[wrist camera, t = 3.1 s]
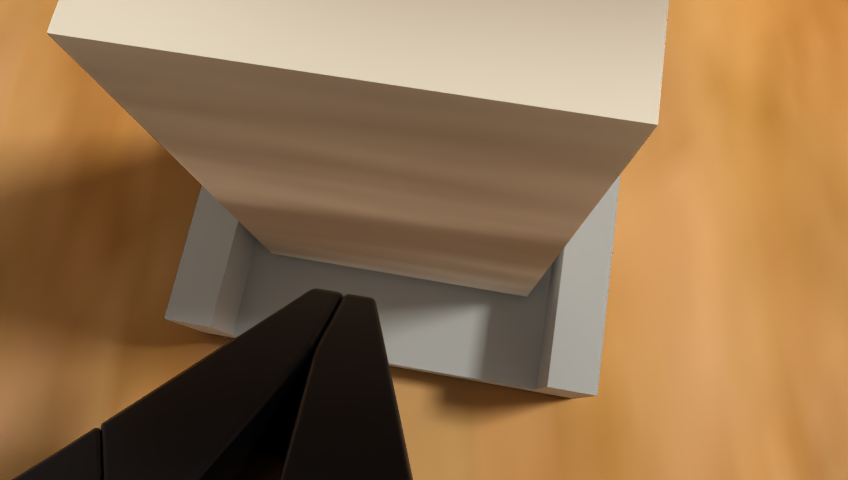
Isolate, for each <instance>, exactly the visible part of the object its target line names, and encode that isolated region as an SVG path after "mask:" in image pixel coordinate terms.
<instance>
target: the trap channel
mask: <svg viewBox="0 0 848 480" xmlns="http://www.w3.org/2000/svg"><path fill="white" fill-rule="evenodd" d="M619 182H620V175H619V176H618V178H617V179H616V180H615V182H614V183H613V184H612V186H611V187H610V188H609V190H608V191H607V192H606V193H605V195H604V196H603V197H602V199H601V200H600V201H599V203H598V204H597V205H596V207H595V208H594V209H593V211H592V212H591V213H590V214H589V216H588V217H587V218H586V220H585V221H584V222H583V224H582V225H581V226H580V228H579V229H578V230H577V232H576V233H575V234H574V236H573V237H572V238H571V239H570V241H569V242H568V243H567V245H566V246H565V247H564V249H563V250H562V251H561V253H560V254H559V255H558V257H557V258H556V259H555V260H554V262H553V263H552V264H551V266H550V267H549V268H548V270H547V271H546V272H545V274H544V275H543V276H542V278H541V279H540V280H539V281H538V283H537V284H536V285H535V287H534V288H533V289H532V291H531V292H530V293H529V295H528V296H527V297H525V296H519V295H513V294H507V293H501V292H495V291H489V290H484V289H478V288H472V287H466V286H460V285H454V284H448V283H442V282H436V281H430V280H425V279H419V278H413V277H407V276H401V275H395V274H389V273H383V272H377V271H371V270H365V269H360V268H354V267H348V266H342V265H336V264H330V263H324V262H318V261H312V260H306V259H301V258H295V257H289V256H283V255H277V254H272V253H271V252H270V251H269V250H268V249H267V248H266V247H264V246H263V245H262V244H261V243H260V242H259V241H258V240H257V239H256V238H255V237H254V236H253V235H252V234H251V233H250V232H249V231H248V230H247V229H246V228H245V227H244V226H243V225H242V224H241V223H240V222H239V221H238V220H237V219H236V218H235V217H234V216H233V215H232V214H231V213H230V212H229V211H228V210H227V209H226V208H225V207H224V206H223V205H222V204H221V203H220V202H219V201H218V200H217V199H216V198H215V197H213V196H212V195H211V194H210V193H209V192H208V191H207V190H206V189H205V188H204V187H203V186H201V189H200V193H199V197H198V200H197V204H196V207H195V211H194V214H193V218H192V221H191V225H190V228H189V232H188V235H187V239H186V243H185V246H184V250H183V253H182V257H181V260H180V264H179V267H178V271H177V274H176V278H175V282H174V285H173V289H172V292H171V296H170V299H169V303H168V306H167V310H166V313H165V317H164V319H166V320H169V321H172V322H175V323H178V324H181V325H183V326H186V327H189V328H192V329H195V330H198V331H200V332H203V333H209V334H215V335H220V336H226V337H231V338H236V337H237V336H239V335H241V334H242V333H244V332H245V331H247V330H248V329H250V328H251V327H253V326H255V325H256V324H258V323H259V322H261V321H262V320H264V319H265V318H267V317H269V316H270V315H272V314H273V313H275V312H276V311H278V310H279V309H281V308H283V307H284V306H286V305H287V304H289V303H290V302H292V301H293V300H295V299H297V298H298V297H300V296H301V295H303V294H304V293H306V292H307V291H309V290H311V289H314V288H319V289H325V290H331V291H336V292H340V293H341V294H342V295H343V297H344V296H345V295H347V294H354V295H360V296H366V297H371V298H373V299H375V301H376V304H377V309H378V314H379V319H380V324H381V329H382V333H383V338H384V343H385V348H386V353H387V357H388V362H389V366H394V367H399V368H405V369H410V370H416V371H422V372H427V373H433V374H438V375H444V376H450V377H455V378H461V379H466V380H472V381H478V382H483V383H489V384H494V385H500V386H506V387H511V388H517V389H522V390H528V391H534V392H539V393H545V394H550V395H556V396H562V397H567V398H573V399H575V398H583V397H592V396H597V395H598V385H599V376H600V366H601V356H602V347H603V337H604V327H605V318H606V308H607V298H608V289H609V279H610V269H611V260H612V250H613V240H614V231H615V221H616V211H617V202H618V192H619Z"/></svg>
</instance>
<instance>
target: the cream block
mask: <svg viewBox="0 0 848 480" xmlns="http://www.w3.org/2000/svg"><path fill="white" fill-rule="evenodd" d="M668 5H669V0H59V1H58V4H57V6H56V9H55V12H54V14H53V17H52V20H51V22H50V25H49V28H48V31H47V34H48V35H49V36H50V37H51V38H52V39H53V40H54V41H55V42H56V43H57V44H58V45H59V46H60V47H62V48H63V49H64V50H65V51H66V52H67V53H68V54H69V55H70V56H71V57H72V58H73V59H74V60H75V61H76V62H77V63H78V64H79V65H80V66H81V67H82V68H83V69H84V70H85V71H86V72H87V73H88V74H89V75H90V76H91V77H92V78H93V79H94V80H95V81H96V82H97V83H98V84H99V85H100V86H101V87H102V88H103V89H104V90H105V91H106V92H107V93H108V94H109V95H110V96H111V97H113V98H114V99H115V100H116V101H117V102H118V103H119V104H120V105H121V106H122V107H123V108H124V109H125V110H126V111H127V112H128V113H129V114H130V115H131V116H132V117H133V118H134V119H135V120H136V121H137V122H138V123H139V124H140V125H141V126H142V127H143V128H144V129H145V130H146V131H147V132H148V133H149V134H150V135H151V136H152V137H153V138H154V139H155V140H156V141H157V142H158V143H159V144H160V145H161V146H162V147H164V148H165V149H166V150H167V151H168V152H169V153H170V154H171V155H172V156H173V157H174V158H175V159H176V160H177V161H178V162H179V163H180V164H181V165H182V166H183V167H184V168H185V169H186V170H187V171H188V172H189V173H190V174H191V175H192V176H193V177H194V178H195V179H196V180H197V181H198V182H199V183H200V184H201V185H202V186H203V187H204V188H205V189H206V190H207V191H208V192H209V193H210V194H211V195H212V196H213V197H215V198H216V199H217V200H218V201H219V202H220V203H221V204H222V205H223V206H224V207H225V208H226V209H227V210H228V211H229V212H230V213H231V214H232V215H233V216H234V217H235V218H236V219H237V220H238V221H239V222H240V223H241V224H242V225H243V226H244V227H245V228H246V229H247V230H248V231H249V232H250V233H251V234H252V235H253V236H254V237H255V238H256V239H257V240H258V241H259V242H260V243H261V244H262V245H263V246H264V247H266V248H267V249H268V250H269V251H270V252H271V253H272V254H277V255H283V256H289V257H295V258H301V259H306V260H312V261H318V262H324V263H330V264H336V265H342V266H348V267H354V268H360V269H365V270H371V271H377V272H383V273H389V274H395V275H401V276H407V277H413V278H419V279H425V280H430V281H436V282H442V283H448V284H454V285H460V286H466V287H472V288H478V289H484V290H489V291H495V292H501V293H507V294H513V295H519V296H525V297H527V296H528V295H529V293H530V292H531V291H532V289H533V288H534V287H535V285H536V284H537V283H538V281H539V280H540V279H541V278H542V276H543V275H544V274H545V272H546V271H547V270H548V268H549V267H550V266H551V264H552V263H553V262H554V260H555V259H556V258H557V257H558V255H559V254H560V253H561V251H562V250H563V249H564V247H565V246H566V245H567V243H568V242H569V241H570V239H571V238H572V237H573V236H574V234H575V233H576V232H577V230H578V229H579V228H580V226H581V225H582V224H583V222H584V221H585V220H586V218H587V217H588V216H589V214H590V213H591V212H592V211H593V209H594V208H595V207H596V205H597V204H598V203H599V201H600V200H601V199H602V197H603V196H604V195H605V193H606V192H607V191H608V190H609V188H610V187H611V186H612V184H613V183H614V182H615V180H616V179H617V178H618V176H619V175H620V174H621V172H622V171H623V170H624V169H625V167H626V166H627V165H628V163H629V162H630V161H631V159H632V158H633V157H634V155H635V154H636V153H637V151H638V150H639V149H640V148H641V146H642V145H643V144H644V142H645V141H646V140H647V138H648V137H649V136H650V134H651V133H652V132H653V130H654V129H655V128H656V127H657V125H658V118H659V106H660V95H661V84H662V73H663V62H664V50H665V39H666V28H667V17H668Z"/></svg>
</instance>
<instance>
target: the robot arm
mask: <svg viewBox="0 0 848 480" xmlns="http://www.w3.org/2000/svg"><path fill="white" fill-rule="evenodd" d="M12 480H413V477H412V473H411V468H410V463H409V458H408V453H407V449H406V444H405V439H404V434H403V429H402V425H401V420H400V415H399V410H398V405H397V401H396V396H395V391H394V386H393V381H392V377H391V372H390V367H389V362H388V357H387V353H386V348H385V343H384V338H383V333H382V329H381V324H380V319H379V314H378V309H377V304H376V301H375V299H373V298H371V297H366V296H360V295H354V294H347V295H345V296H344V297H343V295H342V294H341V293H340V292H336V291H331V290H325V289H319V288H314V289H311V290H309V291H307V292H306V293H304V294H303V295H301V296H300V297H298V298H297V299H295V300H293V301H292V302H290V303H289V304H287V305H286V306H284V307H283V308H281V309H279V310H278V311H276V312H275V313H273V314H272V315H270V316H269V317H267V318H265V319H264V320H262V321H261V322H259V323H258V324H256V325H255V326H253V327H251V328H250V329H248V330H247V331H245V332H244V333H242V334H241V335H239V336H237V337H236V338H234V339H233V340H231V341H230V342H228V343H227V344H225V345H223V346H222V347H220V348H219V349H217V350H216V351H214V352H213V353H211V354H209V355H208V356H206V357H205V358H203V359H202V360H200V361H199V362H197V363H195V364H194V365H192V366H191V367H189V368H188V369H186V370H185V371H183V372H181V373H180V374H178V375H177V376H175V377H174V378H172V379H171V380H169V381H167V382H166V383H164V384H163V385H161V386H160V387H158V388H157V389H155V390H153V391H152V392H150V393H149V394H147V395H146V396H144V397H143V398H141V399H139V400H138V401H136V402H135V403H133V404H132V405H130V406H129V407H127V408H125V409H124V410H122V411H121V412H119V413H118V414H116V415H115V416H113V417H111V418H110V419H108V420H107V421H105V422H104V423H102V425H101V430H100V429H99V428H94V429H92V430H91V431H89V432H88V433H86V434H85V435H83V436H81V437H80V438H78V439H77V440H75V441H74V442H72V443H71V444H69V445H67V446H66V447H64V448H63V449H61V450H59V451H58V452H56V453H54V454H53V455H51V456H50V457H48V458H46V459H45V460H43V461H41V462H40V463H38V464H37V465H35V466H33V467H32V468H30V469H28V470H27V471H25V472H23V473H22V474H20V475H19V476H17V477H15V478H14V479H12Z"/></svg>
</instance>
